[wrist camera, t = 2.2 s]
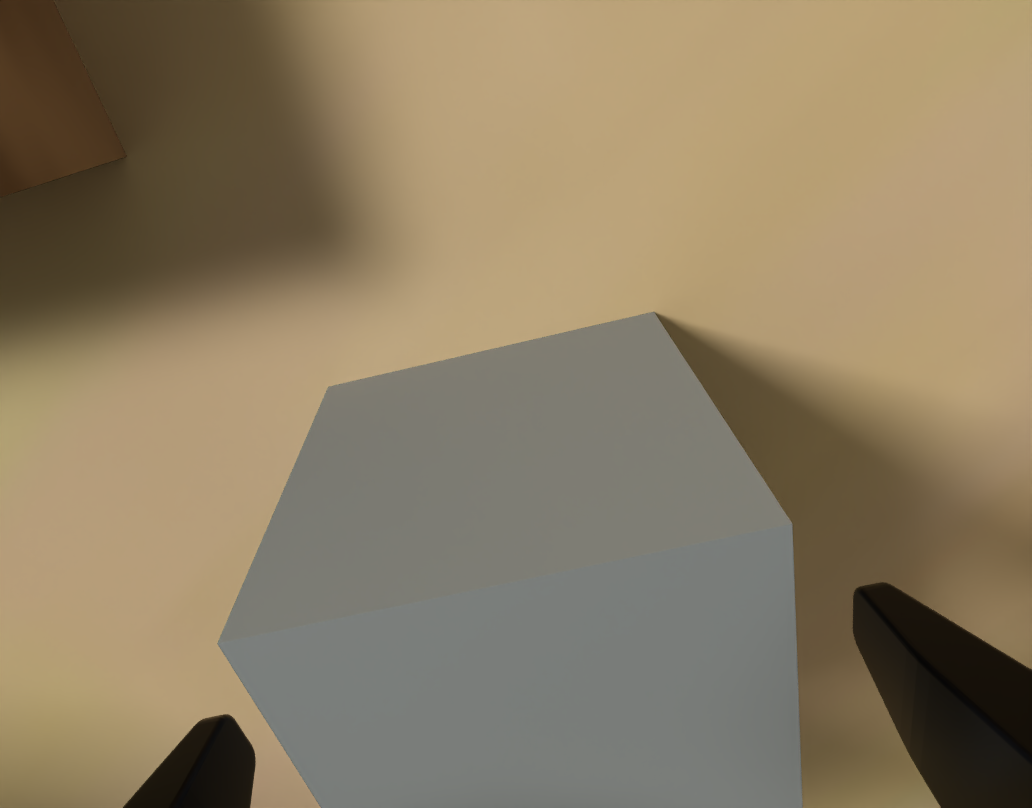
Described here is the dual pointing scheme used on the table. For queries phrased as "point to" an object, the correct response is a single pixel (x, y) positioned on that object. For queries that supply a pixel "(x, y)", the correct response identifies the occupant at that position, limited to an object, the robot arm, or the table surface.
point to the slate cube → (528, 590)
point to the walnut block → (46, 101)
